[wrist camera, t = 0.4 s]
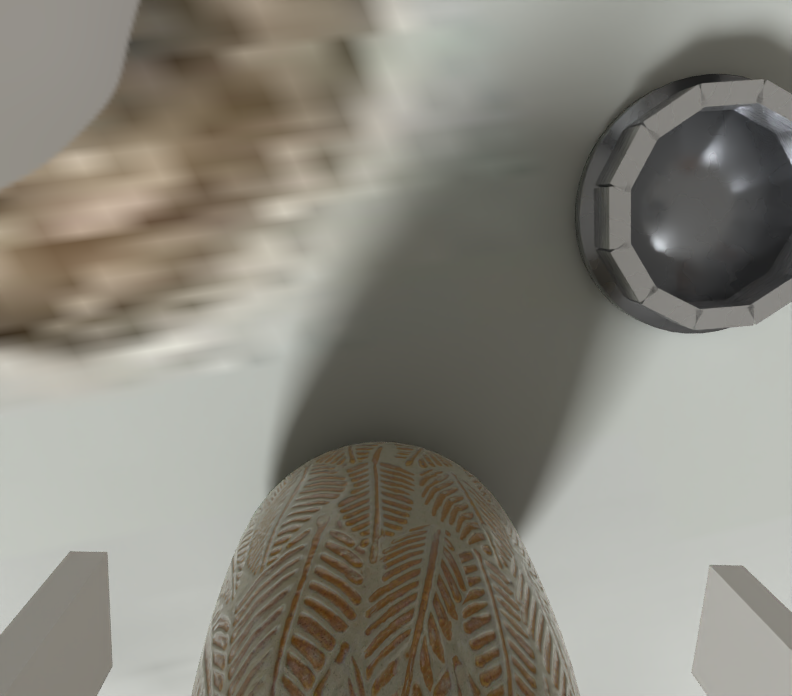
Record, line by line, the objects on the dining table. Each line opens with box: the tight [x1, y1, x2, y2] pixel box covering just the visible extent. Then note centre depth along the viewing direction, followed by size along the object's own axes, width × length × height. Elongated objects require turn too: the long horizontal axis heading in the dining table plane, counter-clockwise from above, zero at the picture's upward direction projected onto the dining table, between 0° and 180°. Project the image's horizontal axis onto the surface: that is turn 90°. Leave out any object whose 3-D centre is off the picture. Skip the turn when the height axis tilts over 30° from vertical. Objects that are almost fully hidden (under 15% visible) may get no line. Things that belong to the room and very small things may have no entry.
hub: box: [575, 74, 792, 333], centre depth 38 cm, size 15×15×4 cm
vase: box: [191, 442, 580, 696], centre depth 31 cm, size 17×17×27 cm
